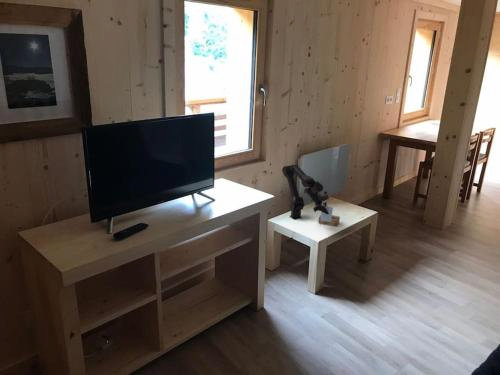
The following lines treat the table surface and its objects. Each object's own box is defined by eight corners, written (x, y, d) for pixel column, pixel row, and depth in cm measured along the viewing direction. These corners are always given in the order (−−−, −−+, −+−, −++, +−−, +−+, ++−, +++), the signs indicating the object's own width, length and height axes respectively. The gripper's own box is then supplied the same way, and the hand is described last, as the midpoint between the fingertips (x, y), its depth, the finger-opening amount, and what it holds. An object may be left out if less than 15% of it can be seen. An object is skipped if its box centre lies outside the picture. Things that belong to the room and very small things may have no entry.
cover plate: (320, 220, 277) (321, 206, 273) (321, 219, 278) (322, 205, 275) (330, 222, 274) (332, 208, 271) (331, 221, 276) (332, 207, 272)
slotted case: (318, 223, 287) (318, 217, 285) (321, 219, 294) (321, 213, 292) (336, 226, 282) (337, 220, 280) (339, 222, 289) (339, 216, 287)
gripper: (319, 193, 262) (335, 212, 262) (326, 184, 278) (341, 202, 278) (306, 202, 267) (322, 221, 267) (314, 193, 284) (328, 210, 283)
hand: (328, 213), depth 274 cm, fingers closed on cover plate, 2 cm apart
